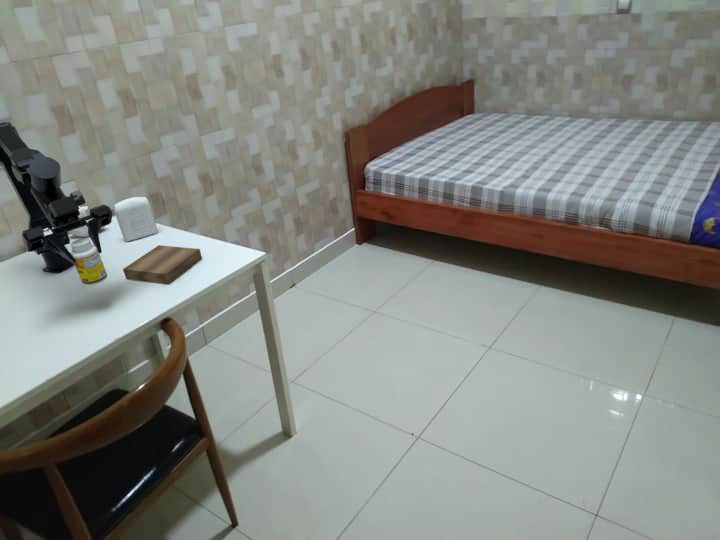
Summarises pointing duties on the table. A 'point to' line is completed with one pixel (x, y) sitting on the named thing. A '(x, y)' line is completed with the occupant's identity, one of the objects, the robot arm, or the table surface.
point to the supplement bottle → (88, 262)
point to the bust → (83, 230)
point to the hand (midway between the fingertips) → (87, 257)
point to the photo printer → (135, 218)
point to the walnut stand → (162, 264)
